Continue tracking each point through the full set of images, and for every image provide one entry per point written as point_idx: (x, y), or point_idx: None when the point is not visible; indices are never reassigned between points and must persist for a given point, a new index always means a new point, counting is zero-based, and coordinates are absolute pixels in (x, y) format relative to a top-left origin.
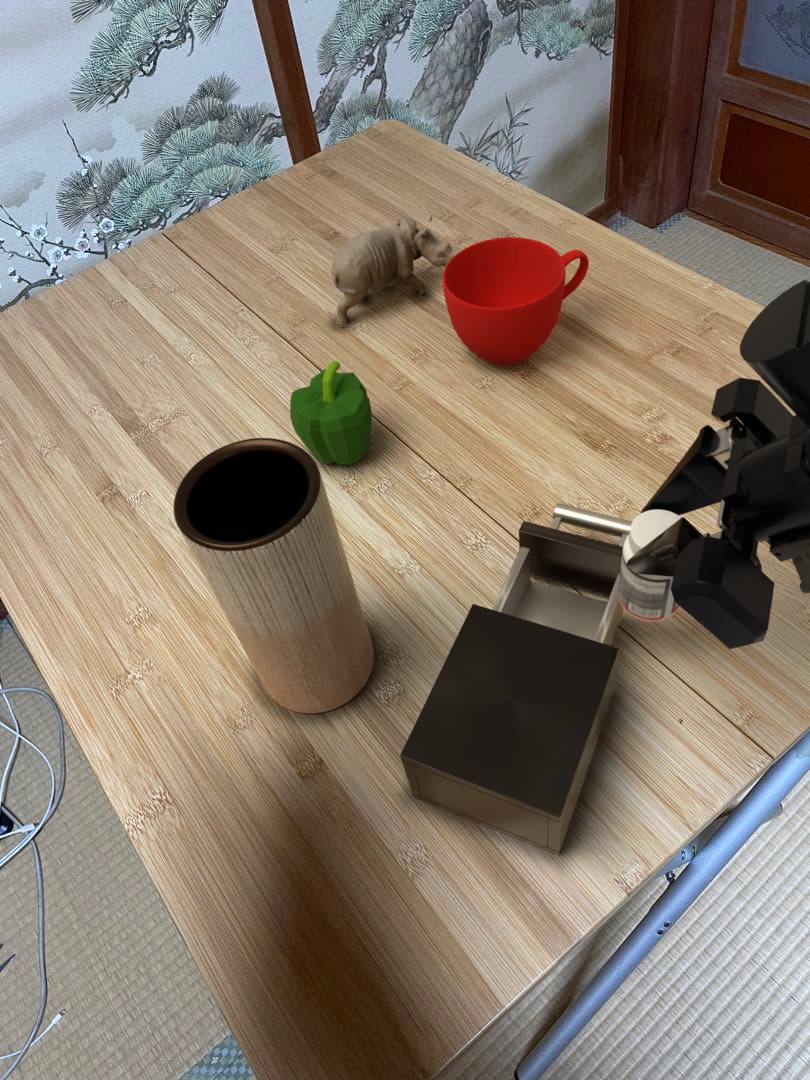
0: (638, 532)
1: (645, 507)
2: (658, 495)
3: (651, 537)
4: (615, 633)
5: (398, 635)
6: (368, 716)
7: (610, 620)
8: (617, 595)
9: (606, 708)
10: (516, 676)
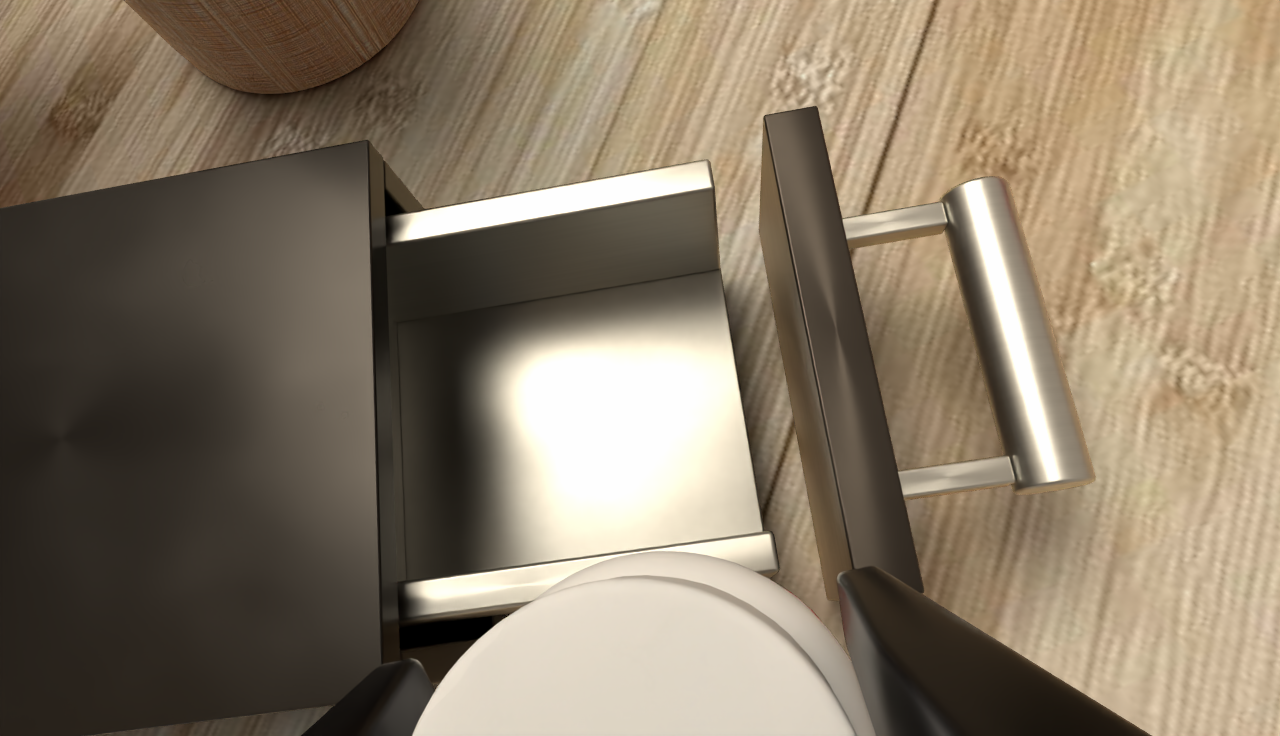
0: (539, 670)
1: (877, 595)
2: (937, 709)
3: None
4: None
5: (442, 81)
6: (221, 148)
7: None
8: None
9: None
10: (147, 407)
